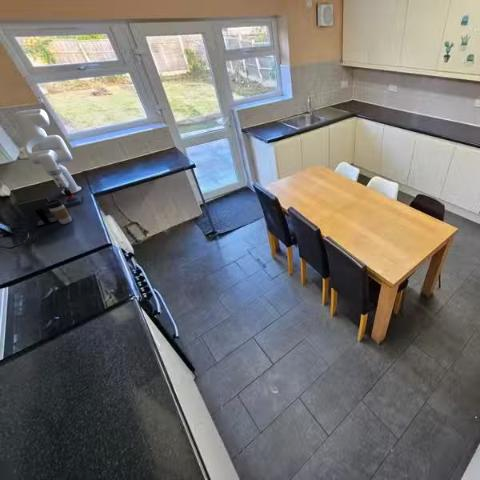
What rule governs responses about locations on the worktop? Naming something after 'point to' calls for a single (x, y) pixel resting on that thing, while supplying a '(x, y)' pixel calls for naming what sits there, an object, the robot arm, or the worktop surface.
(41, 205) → the screen
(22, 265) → the worktop surface
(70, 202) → the switch box
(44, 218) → the monitor stand
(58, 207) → the coffee cup
